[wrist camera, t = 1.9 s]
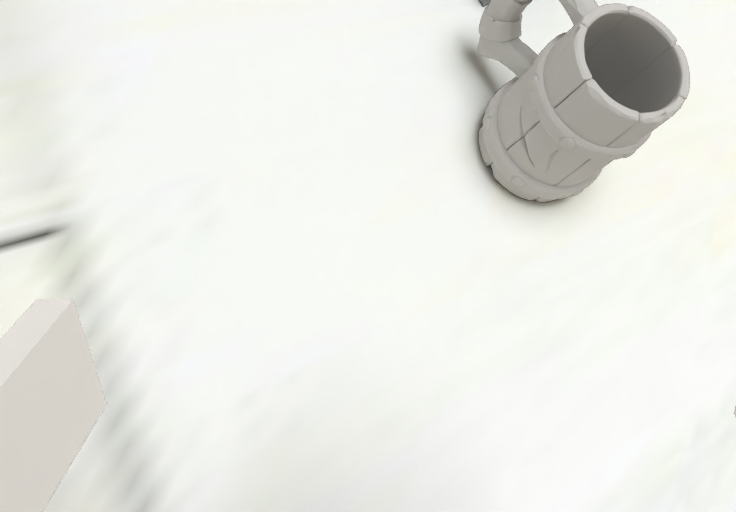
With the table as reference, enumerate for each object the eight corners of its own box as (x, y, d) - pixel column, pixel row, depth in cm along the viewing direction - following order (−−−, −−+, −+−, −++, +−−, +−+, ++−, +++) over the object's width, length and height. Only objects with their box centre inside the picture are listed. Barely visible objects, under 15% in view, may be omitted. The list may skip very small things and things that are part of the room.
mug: (519, 229, 39) (656, 140, 28) (413, 61, 40) (505, -88, 29) (609, 176, 42) (767, 76, 31) (508, 20, 43) (624, -130, 32)
